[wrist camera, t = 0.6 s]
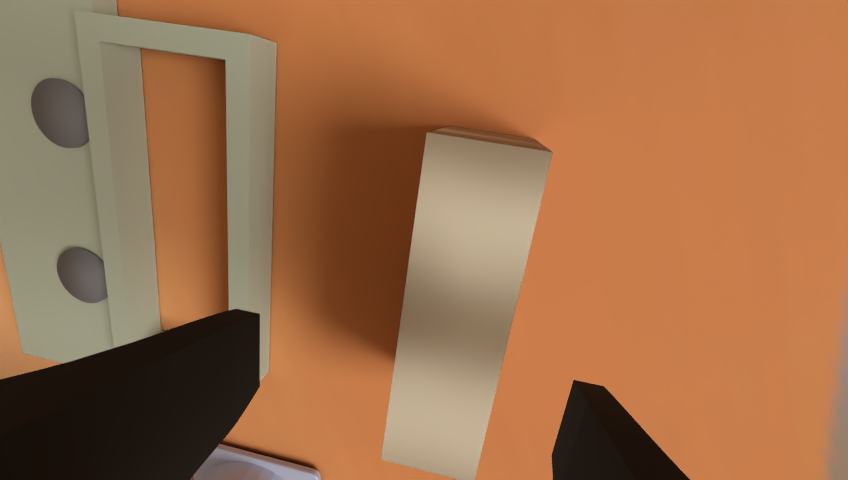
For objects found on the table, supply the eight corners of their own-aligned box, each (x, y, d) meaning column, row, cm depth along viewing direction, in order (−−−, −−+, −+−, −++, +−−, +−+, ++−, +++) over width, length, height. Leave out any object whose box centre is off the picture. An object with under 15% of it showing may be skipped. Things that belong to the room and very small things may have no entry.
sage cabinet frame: (268, 397, 23) (247, 423, 21) (44, 342, 25) (6, 361, 23) (278, -5, 17) (249, -20, 15) (-25, -42, 18) (-85, -60, 16)
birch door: (480, 381, 21) (473, 483, 15) (412, 365, 21) (381, 459, 15) (534, 139, 17) (552, 152, 11) (450, 125, 17) (426, 132, 11)
